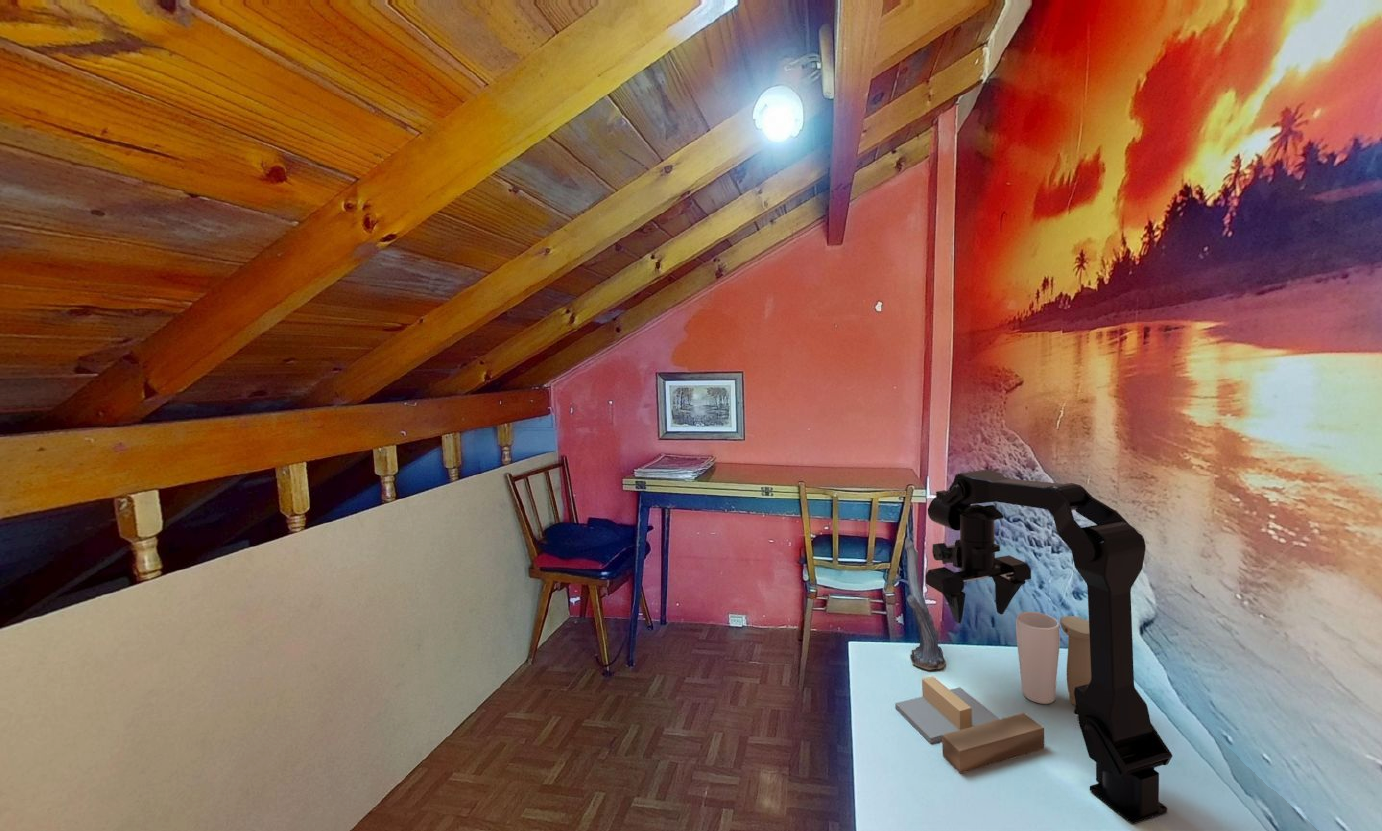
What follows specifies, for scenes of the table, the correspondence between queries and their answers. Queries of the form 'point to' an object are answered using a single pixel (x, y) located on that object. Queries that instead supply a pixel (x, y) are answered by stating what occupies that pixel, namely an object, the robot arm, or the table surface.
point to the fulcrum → (943, 710)
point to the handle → (1077, 653)
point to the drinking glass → (1038, 655)
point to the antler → (922, 617)
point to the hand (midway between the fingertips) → (979, 617)
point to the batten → (992, 742)
